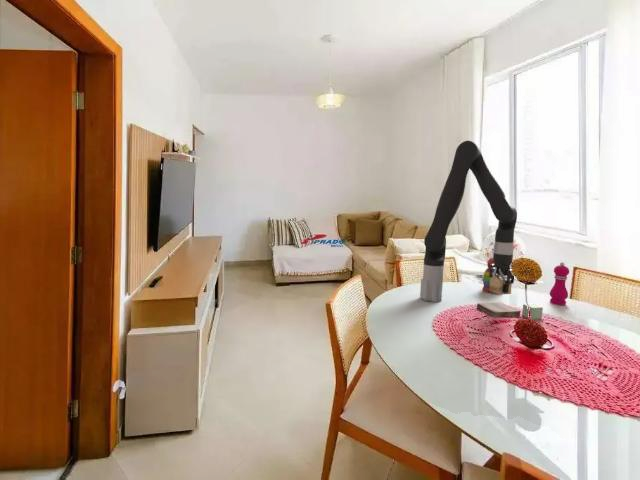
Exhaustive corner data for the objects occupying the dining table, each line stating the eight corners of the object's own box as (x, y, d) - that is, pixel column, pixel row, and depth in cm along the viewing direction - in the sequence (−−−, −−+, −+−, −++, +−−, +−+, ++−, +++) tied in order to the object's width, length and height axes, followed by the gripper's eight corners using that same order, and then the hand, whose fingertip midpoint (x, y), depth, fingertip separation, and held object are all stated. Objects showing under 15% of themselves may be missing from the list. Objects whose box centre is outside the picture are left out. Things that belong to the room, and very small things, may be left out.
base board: (494, 316, 146) (494, 312, 146) (477, 307, 158) (477, 303, 157) (519, 315, 148) (520, 311, 148) (500, 306, 160) (501, 302, 159)
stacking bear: (502, 295, 178) (505, 261, 176) (480, 291, 183) (483, 258, 181) (503, 290, 187) (506, 257, 185) (483, 287, 192) (485, 255, 190)
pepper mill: (565, 302, 168) (570, 261, 165) (568, 306, 161) (573, 264, 158) (547, 300, 171) (552, 260, 168) (550, 304, 164) (554, 262, 161)
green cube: (530, 319, 144) (532, 307, 143) (522, 315, 149) (523, 304, 148) (541, 319, 145) (542, 307, 144) (532, 314, 149) (533, 303, 149)
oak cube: (498, 294, 148) (499, 280, 147) (489, 290, 154) (490, 277, 153) (510, 293, 149) (511, 280, 148) (501, 290, 155) (502, 277, 154)
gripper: (484, 249, 156) (481, 286, 158) (506, 255, 142) (503, 295, 144) (499, 249, 157) (496, 285, 159) (523, 255, 143) (519, 294, 145)
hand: (500, 290), depth 151 cm, fingers closed on oak cube, 6 cm apart
